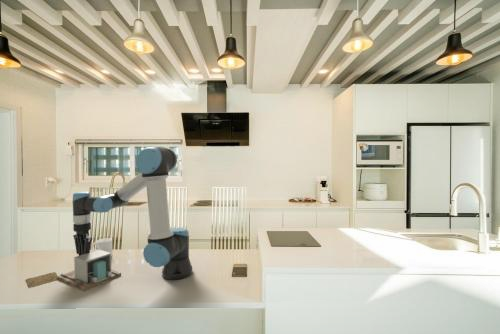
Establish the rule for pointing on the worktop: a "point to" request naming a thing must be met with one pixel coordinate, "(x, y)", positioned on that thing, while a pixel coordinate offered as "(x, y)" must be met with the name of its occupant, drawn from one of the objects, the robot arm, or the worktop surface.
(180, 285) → the worktop surface
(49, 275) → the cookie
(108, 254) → the housing
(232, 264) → the worktop surface
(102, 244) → the cup
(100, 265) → the teal block
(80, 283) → the board
